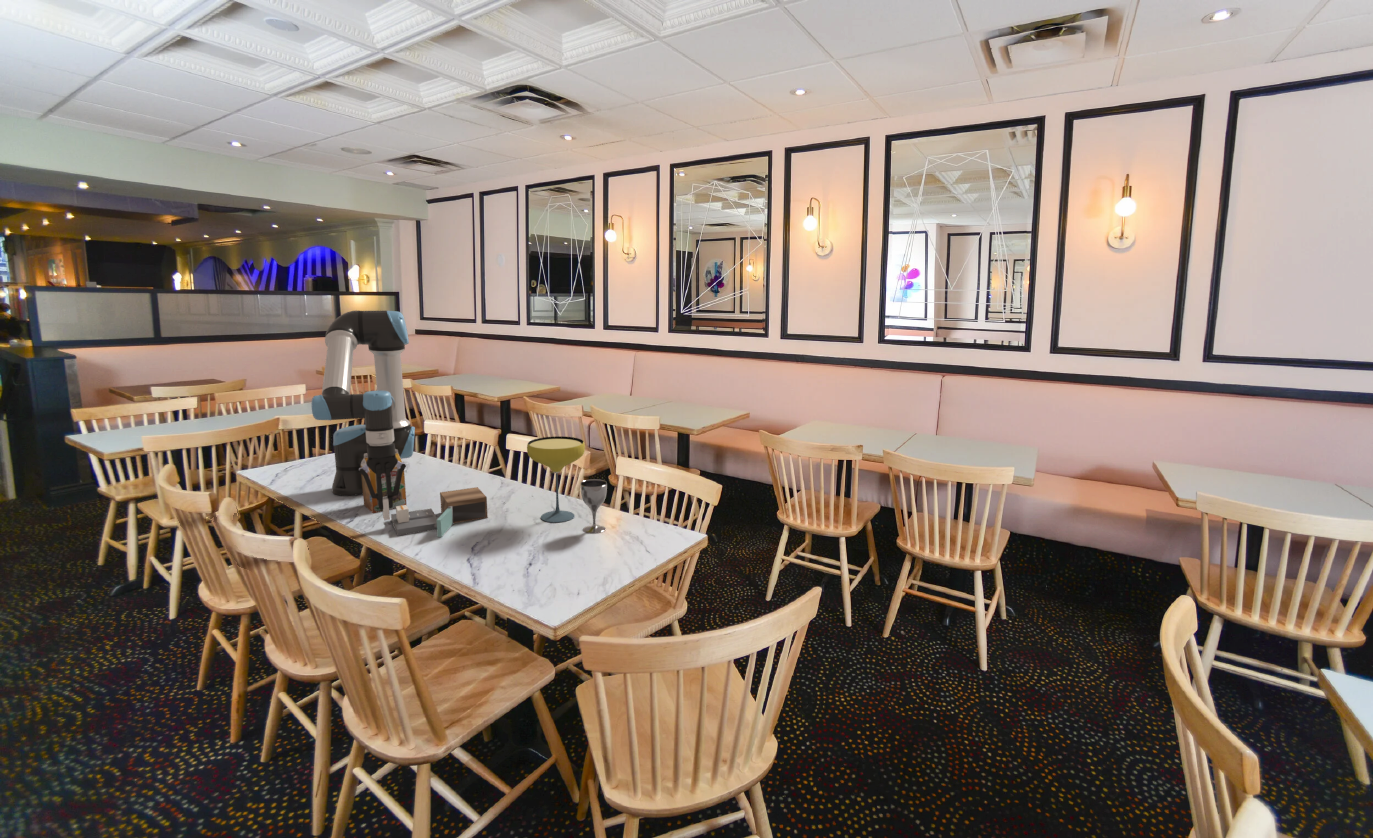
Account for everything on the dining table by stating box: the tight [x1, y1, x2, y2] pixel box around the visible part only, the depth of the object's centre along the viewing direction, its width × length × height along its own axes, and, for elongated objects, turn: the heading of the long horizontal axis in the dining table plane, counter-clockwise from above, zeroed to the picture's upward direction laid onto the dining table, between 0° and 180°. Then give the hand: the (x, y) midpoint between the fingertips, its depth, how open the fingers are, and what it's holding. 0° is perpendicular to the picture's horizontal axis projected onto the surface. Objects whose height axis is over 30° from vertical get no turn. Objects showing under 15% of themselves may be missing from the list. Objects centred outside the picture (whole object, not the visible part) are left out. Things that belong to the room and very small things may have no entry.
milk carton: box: [361, 449, 407, 514], centre depth 210 cm, size 11×11×19 cm
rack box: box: [439, 486, 489, 524], centre depth 204 cm, size 12×12×7 cm
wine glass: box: [580, 478, 608, 535], centre depth 193 cm, size 8×8×15 cm
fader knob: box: [395, 505, 410, 523], centre depth 193 cm, size 4×3×4 cm
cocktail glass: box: [526, 436, 586, 524], centre depth 202 cm, size 18×18×25 cm
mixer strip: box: [390, 508, 439, 537], centre depth 196 cm, size 15×12×2 cm
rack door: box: [434, 506, 454, 538], centre depth 190 cm, size 2×12×6 cm, turn 4°
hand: (386, 518), depth 191 cm, fingers closed
